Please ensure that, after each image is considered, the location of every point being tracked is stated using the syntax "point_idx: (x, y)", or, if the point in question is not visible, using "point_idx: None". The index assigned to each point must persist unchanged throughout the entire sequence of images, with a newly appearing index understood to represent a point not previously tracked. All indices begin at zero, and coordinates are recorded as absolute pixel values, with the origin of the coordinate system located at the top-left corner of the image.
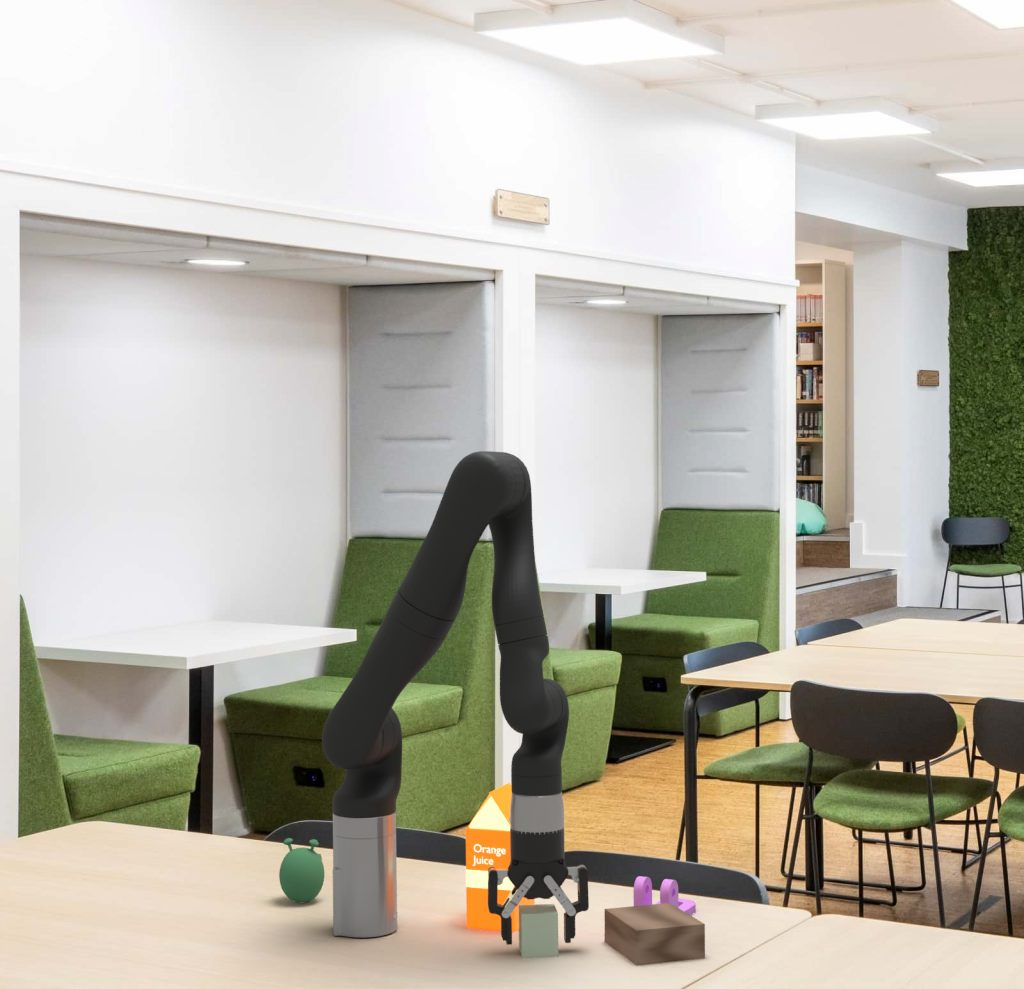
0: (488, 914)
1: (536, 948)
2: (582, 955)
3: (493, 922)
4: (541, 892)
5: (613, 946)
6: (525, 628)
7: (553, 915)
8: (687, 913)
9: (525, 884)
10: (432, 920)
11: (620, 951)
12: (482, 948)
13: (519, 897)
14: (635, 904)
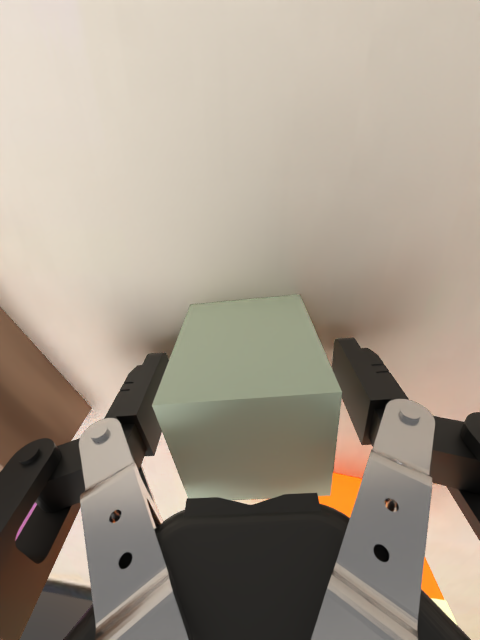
0: None
1: (256, 310)
2: (121, 312)
3: (345, 490)
4: (232, 542)
5: (50, 369)
6: None
7: (176, 394)
8: None
9: (381, 631)
10: (443, 514)
11: (13, 329)
12: (396, 372)
13: (381, 498)
14: None
